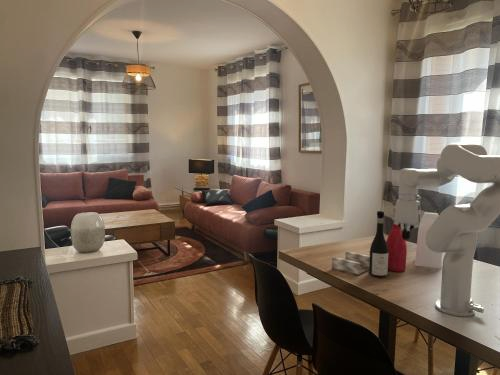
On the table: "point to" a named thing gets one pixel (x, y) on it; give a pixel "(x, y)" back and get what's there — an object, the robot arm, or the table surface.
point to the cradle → (351, 264)
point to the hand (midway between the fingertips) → (405, 239)
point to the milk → (422, 251)
